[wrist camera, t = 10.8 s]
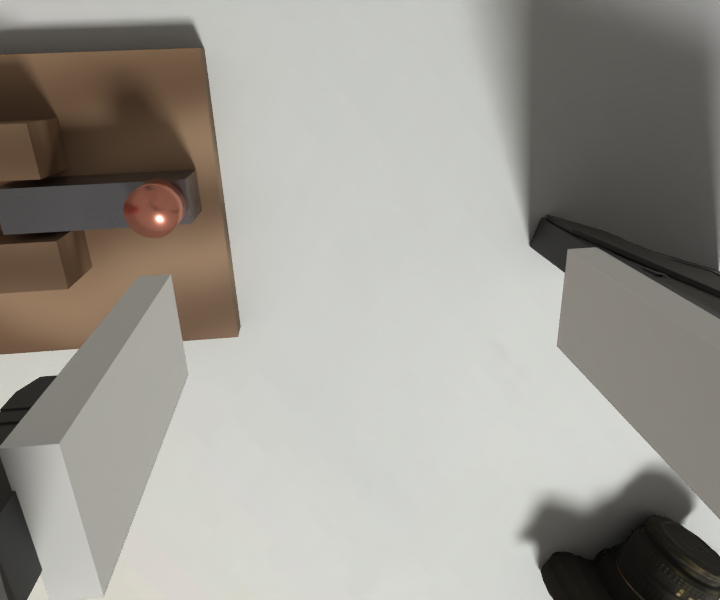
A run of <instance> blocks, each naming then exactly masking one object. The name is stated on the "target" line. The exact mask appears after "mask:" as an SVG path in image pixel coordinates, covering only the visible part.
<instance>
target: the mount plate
mask: <svg viewBox="0 0 720 600" xmlns="http://www.w3.org/2000/svg"><path fill="white" fill-rule="evenodd" d="M180 170H196V174H197V180H198V187H199V194H200V201H201V208H202V211H201V212H200V214H199V215H198V216H197V218H196V219H195V220H194V222H193V223H192V224H182V225H177V226H176V227H175V228H174V229H173V231H172V232H171V233H169V234H168V235H166V236H164V237H161V238H147V237H144V236H141V235H139V234H138V233H136V232H135V231H134V230H132V228H131V227H130V228H113V229H96V230H79V231H61V232H44V233H27V234H10V235H3V232H2V228H1V225H0V354H13V353H26V352H40V351H53V350H67V349H80V347H81V346H82V345H83V344H84V342H85V341H86V340H87V339H88V338H89V336H90V335H91V334H92V333H93V331H94V330H95V329H96V328H97V326H98V325H99V324H100V323H101V322H102V320H103V319H104V318H105V317H106V315H107V314H108V313H109V312H110V311H111V309H112V308H113V307H114V306H115V304H116V303H117V302H118V301H119V299H120V298H121V297H122V296H123V295H124V293H125V292H126V291H127V290H128V288H129V287H130V286H131V285H132V284H133V282H134V281H135V280H136V279H137V277H138V276H153V275H168V274H171V278H172V283H173V289H174V295H175V301H176V306H177V312H178V318H179V324H180V329H181V335H182V341H189V340H202V339H216V338H229V337H238V335H239V330H240V319H239V311H238V304H237V296H236V288H235V281H234V273H233V265H232V258H231V250H230V242H229V234H228V227H227V219H226V211H225V204H224V196H223V188H222V181H221V173H220V165H219V158H218V150H217V142H216V135H215V127H214V119H213V112H212V104H211V96H210V88H209V81H208V73H207V65H206V58H205V50H204V49H202V48H179V49H150V50H121V51H93V52H64V53H35V54H6V55H0V186H2V185H4V184H7V183H10V182H12V181H18V180H38V179H43V178H45V177H62V176H82V175H101V174H121V173H141V172H160V171H180Z"/></svg>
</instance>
